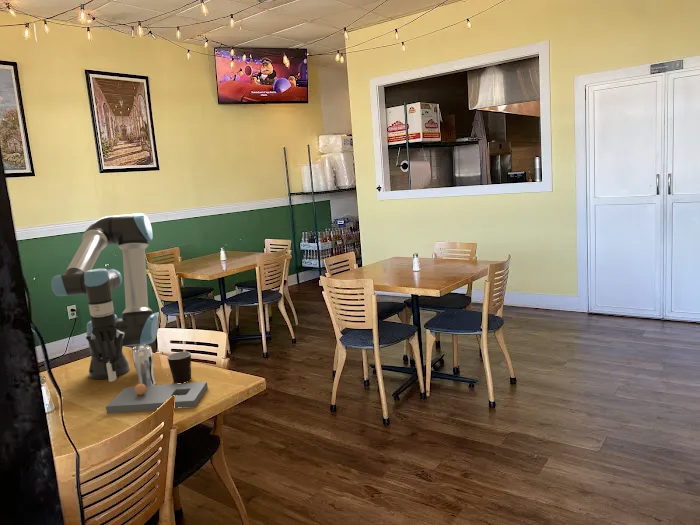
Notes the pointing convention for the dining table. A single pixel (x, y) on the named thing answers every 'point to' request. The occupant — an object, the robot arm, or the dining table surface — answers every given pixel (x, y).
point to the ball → (140, 389)
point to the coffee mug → (180, 366)
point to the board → (157, 397)
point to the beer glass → (144, 364)
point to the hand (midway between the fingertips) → (112, 379)
